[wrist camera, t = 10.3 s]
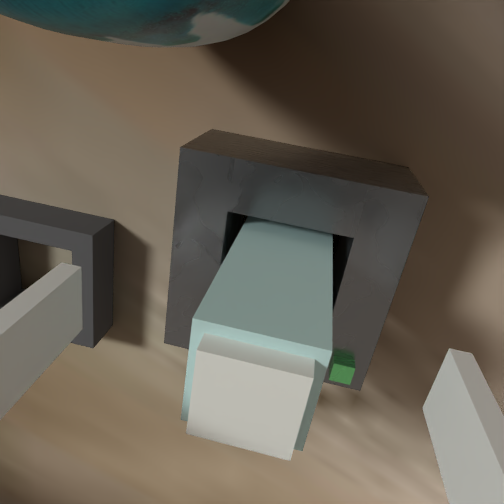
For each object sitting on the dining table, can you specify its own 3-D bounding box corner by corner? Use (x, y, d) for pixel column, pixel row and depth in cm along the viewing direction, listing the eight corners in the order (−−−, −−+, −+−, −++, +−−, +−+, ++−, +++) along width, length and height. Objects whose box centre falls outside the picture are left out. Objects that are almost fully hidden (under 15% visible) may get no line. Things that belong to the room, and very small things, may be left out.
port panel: (193, 294, 26) (159, 350, 21) (211, 129, 22) (175, 149, 17) (355, 331, 25) (360, 399, 20) (408, 167, 21) (432, 201, 16)
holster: (6, 299, 29) (-21, 320, 27) (-5, 193, 26) (-38, 206, 23) (112, 325, 28) (93, 348, 26) (114, 219, 25) (92, 235, 23)
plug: (247, 261, 25) (172, 439, 13) (258, 196, 23) (183, 334, 11) (315, 276, 24) (300, 473, 13) (332, 211, 22) (332, 370, 11)
